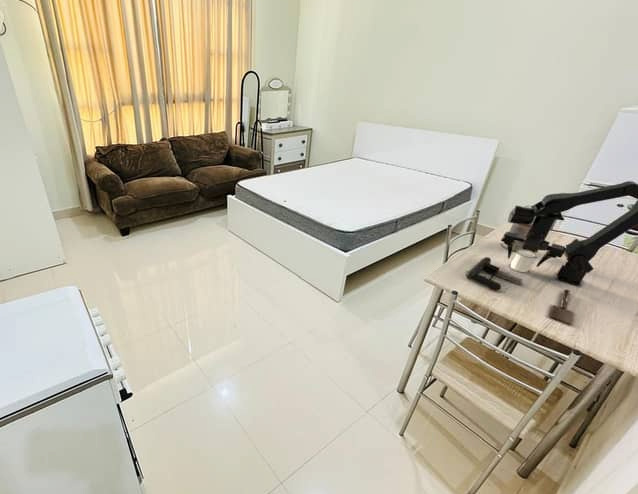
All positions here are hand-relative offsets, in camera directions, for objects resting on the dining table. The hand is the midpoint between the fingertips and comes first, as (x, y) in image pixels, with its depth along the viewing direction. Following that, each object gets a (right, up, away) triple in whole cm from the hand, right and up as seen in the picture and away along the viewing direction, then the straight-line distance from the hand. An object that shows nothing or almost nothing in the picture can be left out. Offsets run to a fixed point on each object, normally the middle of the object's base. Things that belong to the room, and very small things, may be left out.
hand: (522, 262), depth 129 cm
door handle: (-16, -6, -4) cm, 17 cm away
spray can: (+11, +6, +17) cm, 21 cm away
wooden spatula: (-3, -15, -19) cm, 24 cm away
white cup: (0, -3, +2) cm, 3 cm away
